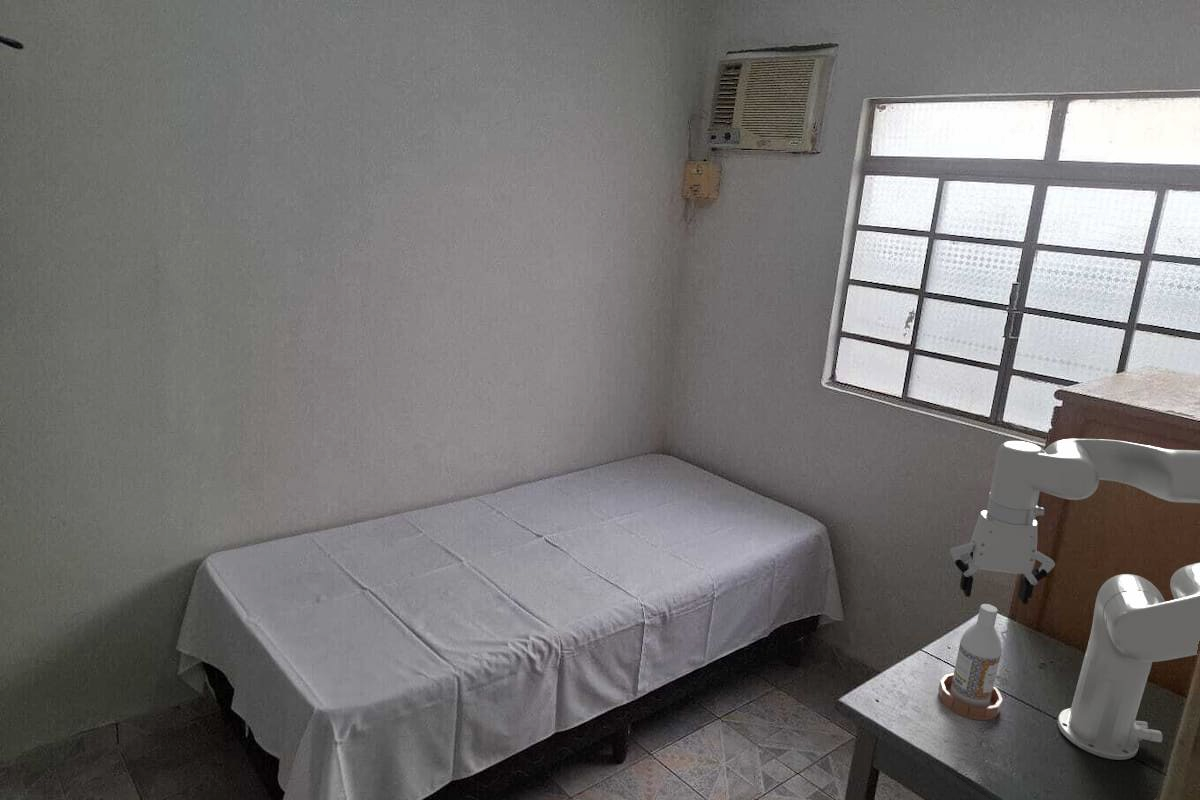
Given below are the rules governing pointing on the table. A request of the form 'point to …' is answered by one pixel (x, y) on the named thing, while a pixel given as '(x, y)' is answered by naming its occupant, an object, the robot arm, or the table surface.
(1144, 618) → the robot arm
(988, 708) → the ring dish
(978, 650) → the bath foam
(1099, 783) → the table surface
